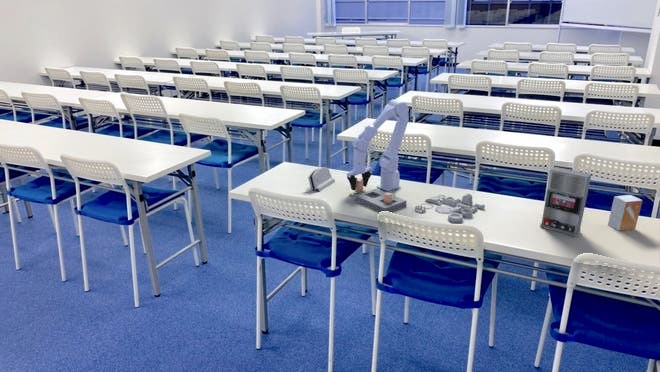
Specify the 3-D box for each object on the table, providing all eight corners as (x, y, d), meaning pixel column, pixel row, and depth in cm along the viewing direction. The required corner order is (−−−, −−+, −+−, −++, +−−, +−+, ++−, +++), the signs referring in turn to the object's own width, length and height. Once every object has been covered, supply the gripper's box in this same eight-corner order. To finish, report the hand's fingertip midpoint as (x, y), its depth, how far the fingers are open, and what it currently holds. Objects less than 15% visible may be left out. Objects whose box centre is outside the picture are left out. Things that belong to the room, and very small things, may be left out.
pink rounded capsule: (359, 189, 235) (359, 178, 233) (364, 191, 233) (364, 180, 230) (353, 191, 233) (353, 180, 231) (358, 193, 230) (358, 182, 228)
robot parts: (408, 211, 213) (409, 200, 211) (437, 195, 230) (438, 185, 228) (458, 226, 197) (459, 215, 195) (485, 208, 214) (486, 198, 212)
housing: (354, 200, 222) (354, 195, 222) (376, 193, 231) (376, 188, 230) (384, 213, 208) (385, 208, 207) (406, 205, 216) (406, 200, 215)
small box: (619, 231, 190) (626, 202, 186) (607, 224, 196) (613, 196, 191) (635, 229, 192) (643, 200, 187) (623, 222, 198) (630, 194, 193)
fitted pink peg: (387, 203, 218) (388, 191, 216) (394, 206, 215) (394, 194, 213) (381, 206, 216) (382, 193, 214) (387, 208, 213) (388, 196, 211)
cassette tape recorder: (539, 227, 194) (549, 170, 185) (544, 222, 198) (554, 166, 190) (575, 237, 186) (587, 178, 177) (580, 232, 190) (591, 174, 181)
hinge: (319, 191, 233) (313, 172, 231) (312, 193, 235) (305, 174, 234) (335, 181, 246) (329, 163, 245) (328, 183, 249) (322, 165, 247)
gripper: (364, 157, 234) (364, 182, 239) (342, 162, 226) (342, 189, 231) (374, 160, 229) (373, 186, 234) (352, 166, 221) (352, 193, 226)
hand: (358, 188), depth 232 cm, fingers open, 7 cm apart
